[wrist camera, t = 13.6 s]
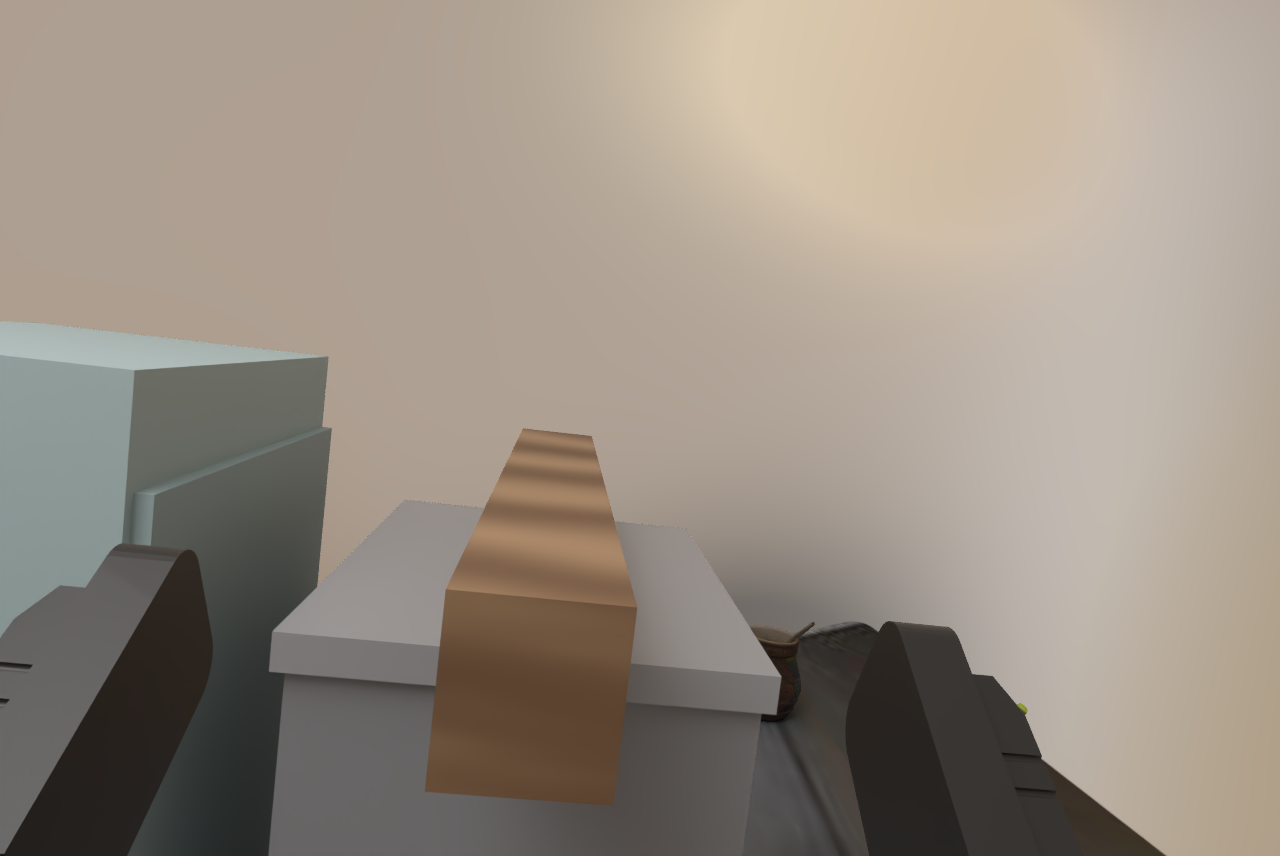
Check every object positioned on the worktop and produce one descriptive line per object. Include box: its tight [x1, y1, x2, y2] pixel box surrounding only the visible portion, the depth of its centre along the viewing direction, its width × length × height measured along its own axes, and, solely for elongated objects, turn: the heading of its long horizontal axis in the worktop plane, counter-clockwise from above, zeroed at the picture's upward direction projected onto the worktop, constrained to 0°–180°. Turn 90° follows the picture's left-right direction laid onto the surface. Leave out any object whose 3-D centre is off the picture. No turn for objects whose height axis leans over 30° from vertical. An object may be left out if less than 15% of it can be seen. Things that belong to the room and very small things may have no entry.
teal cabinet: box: [0, 322, 331, 856], centre depth 32 cm, size 18×12×32 cm
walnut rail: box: [425, 429, 637, 806], centre depth 29 cm, size 28×3×4 cm, turn 5°
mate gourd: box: [749, 622, 815, 721], centre depth 91 cm, size 7×8×10 cm
